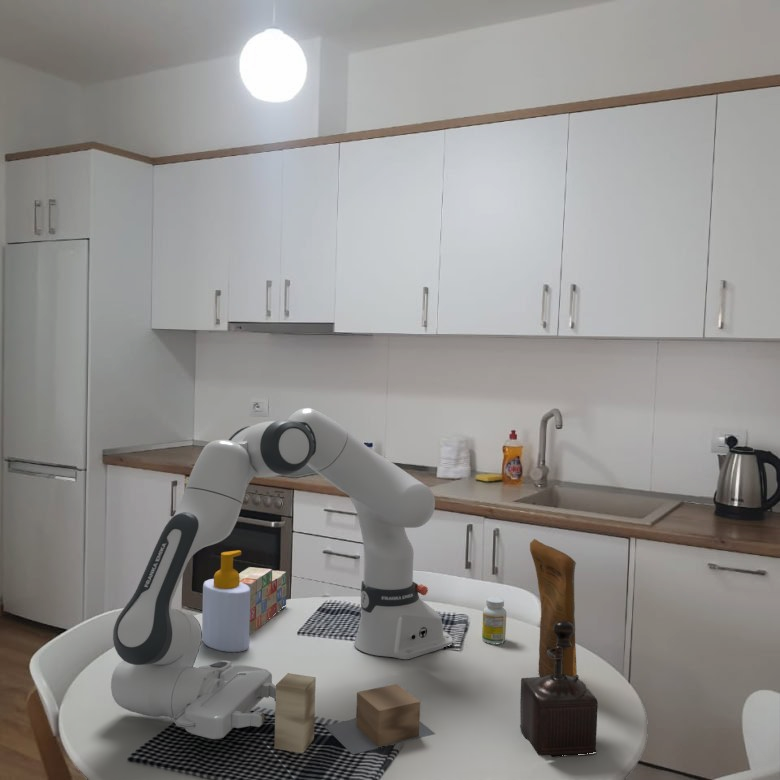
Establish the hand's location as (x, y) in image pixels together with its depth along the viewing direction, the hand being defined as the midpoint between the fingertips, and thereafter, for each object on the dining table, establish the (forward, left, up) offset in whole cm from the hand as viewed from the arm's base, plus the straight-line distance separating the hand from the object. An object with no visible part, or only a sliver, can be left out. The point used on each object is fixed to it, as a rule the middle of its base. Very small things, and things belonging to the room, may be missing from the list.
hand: (274, 707), depth 133 cm
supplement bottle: (-63, -22, -6) cm, 67 cm away
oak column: (-3, +3, -6) cm, 7 cm away
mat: (-18, +5, -6) cm, 19 cm away
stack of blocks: (-19, -59, -6) cm, 62 cm away
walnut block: (-19, +6, -6) cm, 20 cm away
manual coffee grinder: (-45, +19, -6) cm, 49 cm away
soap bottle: (-7, -46, -6) cm, 47 cm away
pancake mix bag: (-59, +2, -6) cm, 59 cm away
